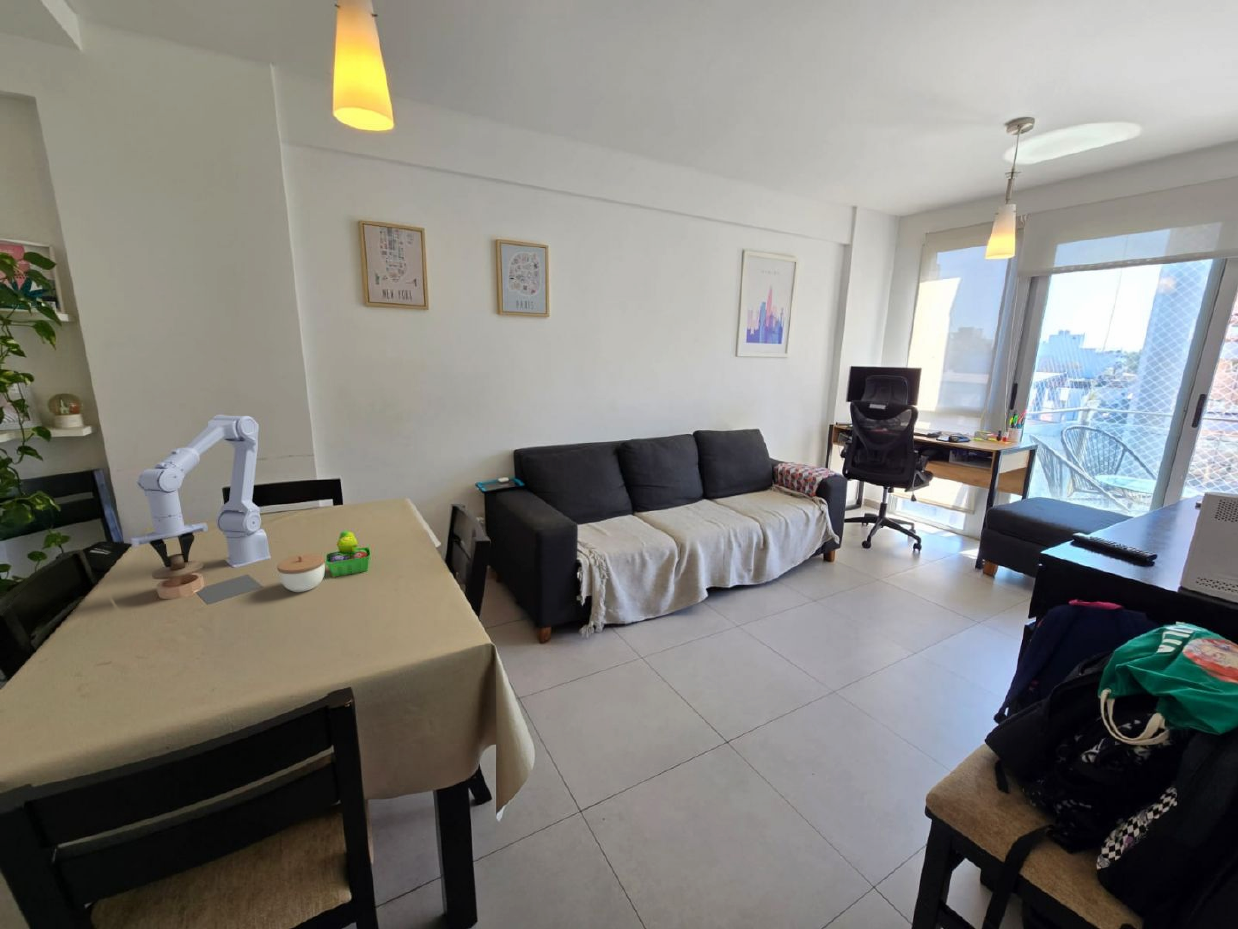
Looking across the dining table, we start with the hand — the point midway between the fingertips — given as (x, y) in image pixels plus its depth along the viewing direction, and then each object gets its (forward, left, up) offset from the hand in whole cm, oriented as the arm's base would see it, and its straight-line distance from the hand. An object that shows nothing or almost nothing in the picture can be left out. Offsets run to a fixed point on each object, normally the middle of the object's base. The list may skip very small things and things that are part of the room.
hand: (176, 563), depth 128 cm
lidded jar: (-21, +22, -8) cm, 32 cm away
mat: (-8, +8, -8) cm, 14 cm away
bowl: (0, 0, -8) cm, 8 cm away
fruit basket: (-34, +20, -8) cm, 40 cm away
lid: (0, +1, -2) cm, 2 cm away
